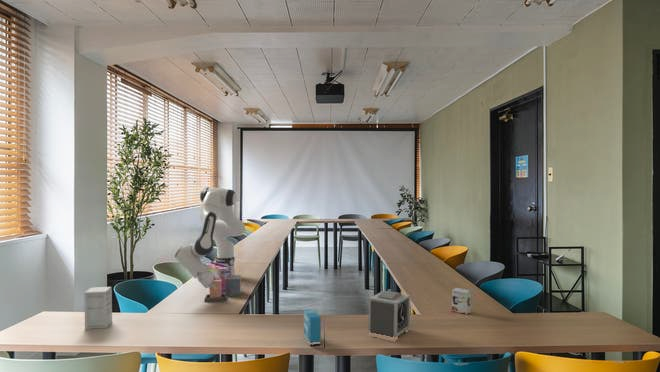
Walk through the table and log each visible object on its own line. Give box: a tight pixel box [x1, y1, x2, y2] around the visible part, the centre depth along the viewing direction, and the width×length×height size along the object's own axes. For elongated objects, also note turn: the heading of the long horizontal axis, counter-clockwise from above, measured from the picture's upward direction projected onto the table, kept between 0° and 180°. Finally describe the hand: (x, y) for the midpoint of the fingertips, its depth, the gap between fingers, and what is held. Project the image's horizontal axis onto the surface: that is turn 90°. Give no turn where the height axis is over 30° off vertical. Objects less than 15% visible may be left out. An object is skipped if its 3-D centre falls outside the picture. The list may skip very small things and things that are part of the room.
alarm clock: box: [368, 290, 411, 337], centre depth 206 cm, size 18×13×18 cm
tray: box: [204, 293, 227, 303], centre depth 257 cm, size 11×9×2 cm
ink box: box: [451, 287, 472, 312], centre depth 238 cm, size 9×5×12 cm, turn 47°
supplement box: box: [83, 286, 113, 330], centre depth 212 cm, size 10×9×17 cm
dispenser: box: [221, 274, 242, 297], centre depth 269 cm, size 16×10×10 cm, turn 98°
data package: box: [303, 309, 322, 343], centre depth 195 cm, size 12×4×12 cm, turn 17°
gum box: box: [205, 261, 231, 291], centre depth 286 cm, size 24×8×14 cm, turn 43°
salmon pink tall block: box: [209, 280, 222, 297], centre depth 257 cm, size 6×3×9 cm, turn 98°
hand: (216, 287), depth 257 cm, fingers closed on salmon pink tall block, 3 cm apart
